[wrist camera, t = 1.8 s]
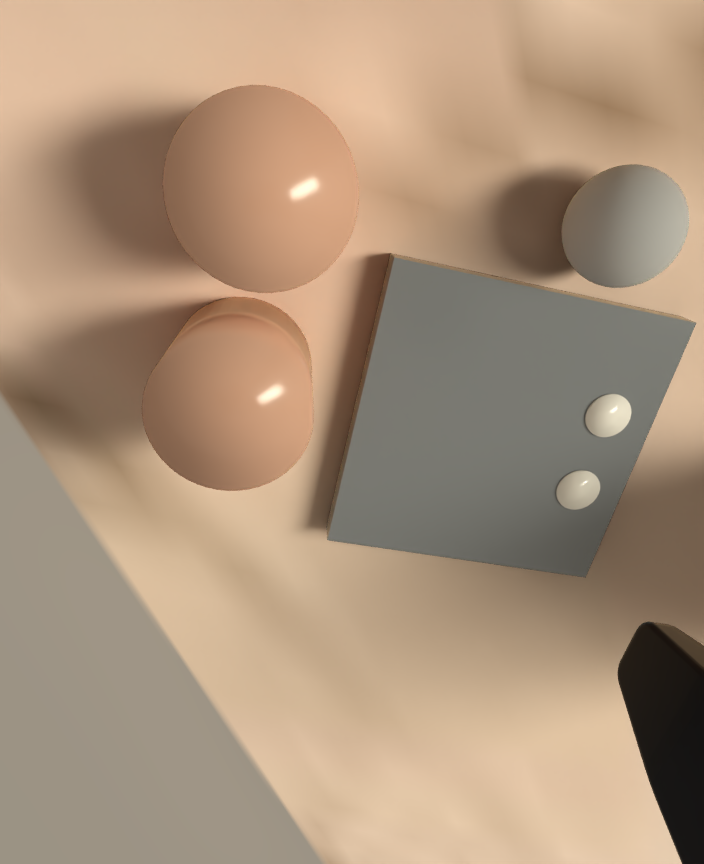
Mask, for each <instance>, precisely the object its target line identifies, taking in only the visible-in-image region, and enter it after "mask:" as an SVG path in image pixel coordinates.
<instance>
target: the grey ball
mask: <svg viewBox="0 0 704 864" xmlns="http://www.w3.org/2000/svg"><path fill="white" fill-rule="evenodd" d="M688 227H689V211H688V206H687V202H686V199H685V196H684V194H683V192H682V190H681V189H680V188H679V186H678V185H677V184H676V183H675V182H674V180H673V179H672V178H670V177H669V176H668V175H666V174H665V173H663V172H661V171H659V170H657V169H655V168H652V167H649V166H643V165H623V166H617V167H613V168H610V169H608V170H605V171H603V172H601V173H599V174H597V175H596V176H594V177H593V178H591V179H590V180H589V181H587V182H586V183H585V184H584V185H583V186H582V187H581V188H580V189H579V190H578V191H577V193H576V194H575V195H574V197H573V198H572V200H571V201H570V203H569V205H568V207H567V209H566V212H565V215H564V218H563V223H562V234H561V236H562V244H563V248H564V252H565V254H566V257H567V259H568V261H569V262H570V264H571V265H572V266H573V268H574V269H575V270H576V271H577V272H578V273H579V274H580V275H581V276H583V277H584V278H586V279H587V280H589V281H591V282H593V283H595V284H598V285H601V286H605V287H612V288H623V287H630V286H634V285H638V284H641V283H643V282H646V281H648V280H650V279H652V278H654V277H655V276H657V275H658V274H659V273H661V272H662V271H663V270H665V269H666V268H667V267H668V266H669V265H670V264H671V263H672V262H673V260H674V259H675V258H676V256H677V255H678V253H679V252H680V250H681V248H682V246H683V244H684V242H685V239H686V236H687V232H688Z"/></svg>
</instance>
